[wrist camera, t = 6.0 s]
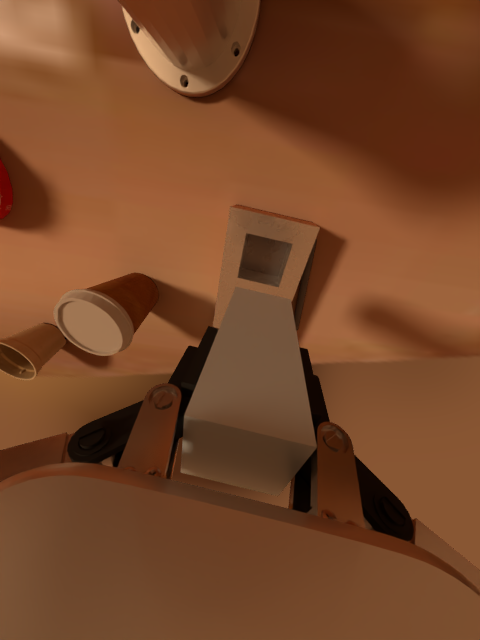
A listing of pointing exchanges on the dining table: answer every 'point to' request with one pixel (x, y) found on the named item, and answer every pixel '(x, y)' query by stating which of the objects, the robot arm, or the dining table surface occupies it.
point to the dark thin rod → (303, 287)
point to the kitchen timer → (5, 192)
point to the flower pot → (29, 350)
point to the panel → (263, 254)
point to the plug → (250, 400)
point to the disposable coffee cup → (106, 313)
